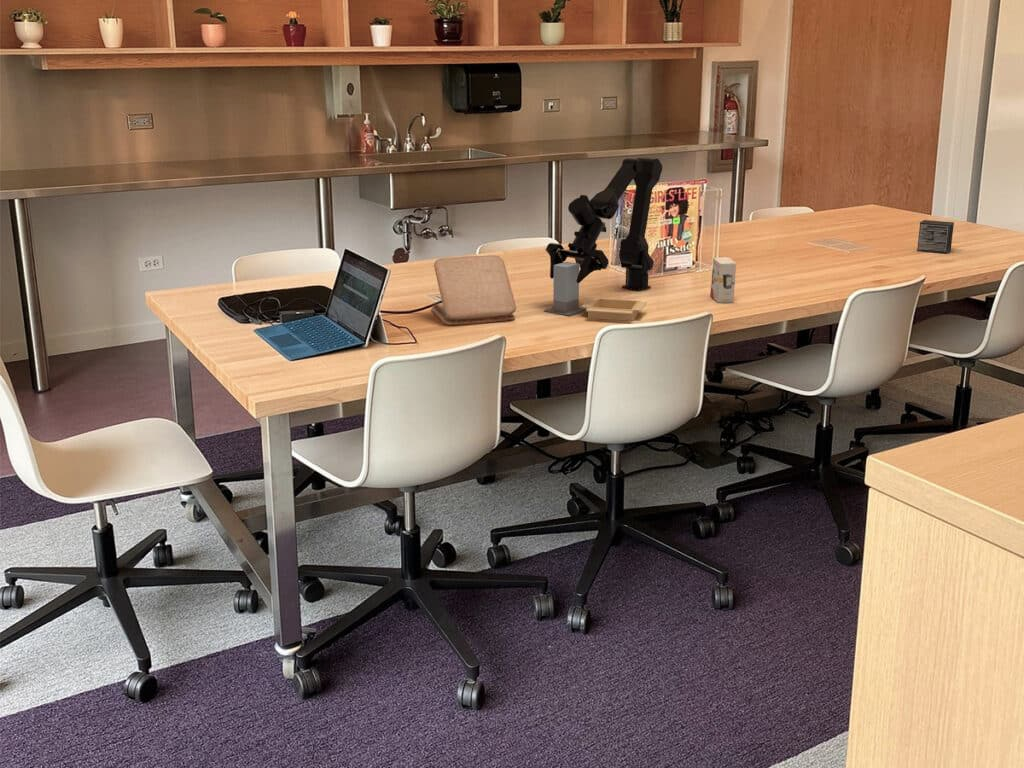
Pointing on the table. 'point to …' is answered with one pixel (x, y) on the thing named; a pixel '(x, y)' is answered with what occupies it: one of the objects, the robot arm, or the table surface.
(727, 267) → the ink box
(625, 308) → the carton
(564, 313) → the mat
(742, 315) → the table surface
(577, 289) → the slate box
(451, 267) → the case
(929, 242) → the small box
